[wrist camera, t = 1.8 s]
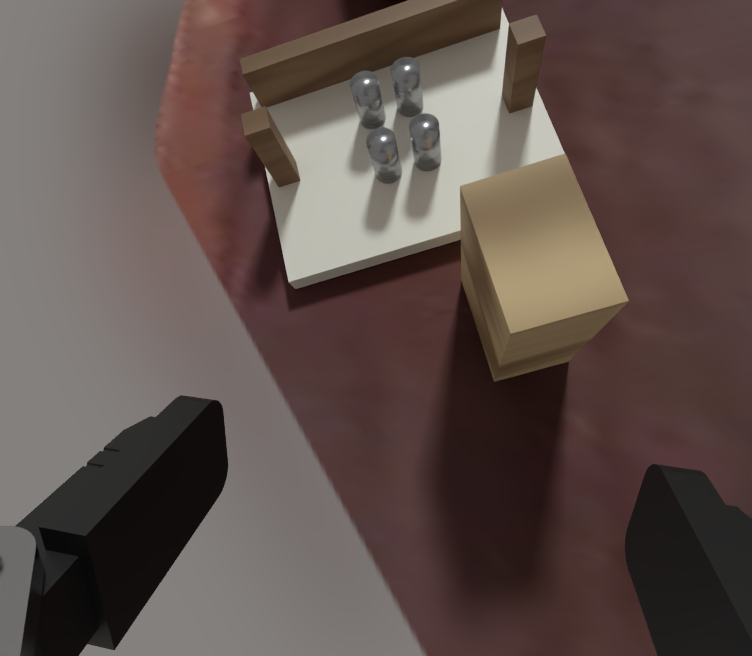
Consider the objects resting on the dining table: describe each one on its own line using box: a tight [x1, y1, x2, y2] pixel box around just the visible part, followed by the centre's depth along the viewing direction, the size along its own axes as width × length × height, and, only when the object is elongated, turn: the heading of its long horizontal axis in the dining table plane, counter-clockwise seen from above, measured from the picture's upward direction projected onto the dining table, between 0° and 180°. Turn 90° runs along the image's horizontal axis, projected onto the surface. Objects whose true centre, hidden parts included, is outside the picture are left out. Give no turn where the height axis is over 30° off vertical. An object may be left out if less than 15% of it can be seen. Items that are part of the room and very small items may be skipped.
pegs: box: [350, 57, 442, 184], centre depth 28 cm, size 6×4×3 cm
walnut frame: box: [240, 0, 546, 187], centre depth 28 cm, size 7×16×5 cm, turn 104°
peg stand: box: [250, 9, 565, 289], centre depth 30 cm, size 14×17×1 cm
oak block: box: [460, 154, 629, 382], centre depth 22 cm, size 6×4×10 cm, turn 14°
